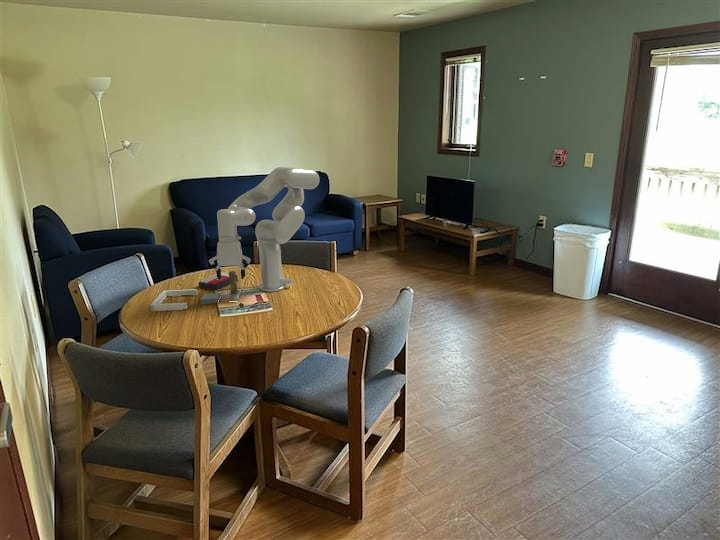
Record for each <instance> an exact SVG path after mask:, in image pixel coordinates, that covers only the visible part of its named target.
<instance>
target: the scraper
mask: <svg viewBox="0 0 720 540" xmlns="http://www.w3.org/2000/svg"><path fill="white" fill-rule="evenodd" d="M228 273H229V281H230V285H229V288H230V291H229V293H228V296H227V299H228V300H227V301H238V300H239V298H240V299H241V297H242V292H241V290H240V289H238V285H237V284H238V282H236V275H237V274H236V271H235V270H234V271H233V270H231V271H229V272H228ZM240 296H241V297H240ZM239 301H240V300H239Z"/></svg>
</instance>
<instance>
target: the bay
mask: <svg viewBox="0 0 720 540" xmlns="http://www.w3.org/2000/svg"><path fill="white" fill-rule="evenodd" d="M181 295H193V296H198V288H189V289H169V290H167V289H166V290H165V289H164V290H163V291H161V293H159V295H158V296H157V297H156V298H155V299H154V300H153V302H151V304H150V305H149V310H150V312H163V311H167V310H168V311H183V309H187V308H189V307H188V302H173V303H172V302H171V303H163V302H164V301H165V300H164V299H166V298H167V296H172V297H182V296H181ZM163 300H164V301H163ZM187 310H188V309H187ZM168 311H167V312H168Z"/></svg>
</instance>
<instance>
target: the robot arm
mask: <svg viewBox="0 0 720 540" xmlns="http://www.w3.org/2000/svg"><path fill="white" fill-rule="evenodd" d="M320 182H321V181H320V176H319V173H318V172H317V171H315V170H314V169H313V170H311V169H302V168H301V169H299V168H294V167H284V166H280V167H275V168H273V170H272V171H270V172H269V174H267V176H266V177H265V178H264V179H262V181H261V182H259V184H258V185H256V186H255V187H254V188H252V189H249V190H248V191H247V192H245V193H243V194H241V195H239V196H238V197H237V198H235V200H234V201H233V202H232V203H231V204H230V205H229V206H228V207H227V208H224V209H218V211H217V212H216V218H217V231H218V242H217V244H216V245H217V246H216V255H215V256H213V257H211V258H209V260H208V262H209V264H210V266H211V267H212V268H213V269H214V270H215V271H216V273H215V274H217V277H218V280H220V279H221V272H222V269H221V267H239V268H240V276H241V277H240V278H241V280H244V278H245V277H246V268H247V267H248V266H249V264H250V263H251V260H252V259H251V258H250V257H249V256H246V255H243V250H242V244H241V241H240V240H242V236H241V235H239V234H238V228H237V227H238V226H240V227H241V226H243V227H244V226H250V225H252V224H253V223H254V222H256V218H257V216H256V213H255V212H256V211H254V210H253V209H252V208H254V207H256V206H259V205H265V204H266V203H269V202H272V200H274V198H275V197H276V196H277V195H278V194H279V193H280V192H281V191H282V190H283V189H284V188H288V190H287V193H286V194H285V195H284V197H283V198H282V200H280V202H278V204H277V205H276V206H275V207H274V209H273V210H272V212H271V213H272V214H271V217H272V219H262V220H260V221H258V222H257V224H256V226H255V229H254V230H255V233H254V234H255V237H256V241H257V244H258V246H257V247H258V253H259V254H258V255H259V264H260V265H259V266H260V276H261V277H260V278H261V283H260V284H259V285H258V289H259V290H260V291H261V292H279V291H282V290H285V289H286V288H287V284H290V285H292V284H293V279H291V278H284V275H283V268H282V254H281V253H282V251H281V246H280V245H282V244H286V243H287V242H289V240H291V238H292V237H293V236H294V235H295V234H296V232H297V231H298V230H299V229H300V227H301V226H302V224H303V223H304V221H305V218H306V215H305V214H306V213H305V210H304V209H303V207H302V206H303V204H304V202H305V191H304V190H314V189H316V188H317V187H318V186H319V184H320ZM244 260H245V261H246V263H245V264H244V263H243V262H244ZM215 261H216V262H217V264H216V263H215Z"/></svg>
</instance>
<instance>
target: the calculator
mask: <svg viewBox="0 0 720 540" xmlns="http://www.w3.org/2000/svg"><path fill="white" fill-rule="evenodd" d="M236 282H237V283H238V282H239V278H238V274H236ZM228 286H230V281H229V272H223V271H221V279H220V280H218V277H217V274H216V273H215V274H212V275H209V276H208V277H205V278H204V279H201V280H199V281H198V288H199V287H200V288H201V289H204V288H205V289H206V290H211V291H215V290H217V291H219V290H222V289H224V288H225V287H228ZM218 289H219V290H218Z"/></svg>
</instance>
